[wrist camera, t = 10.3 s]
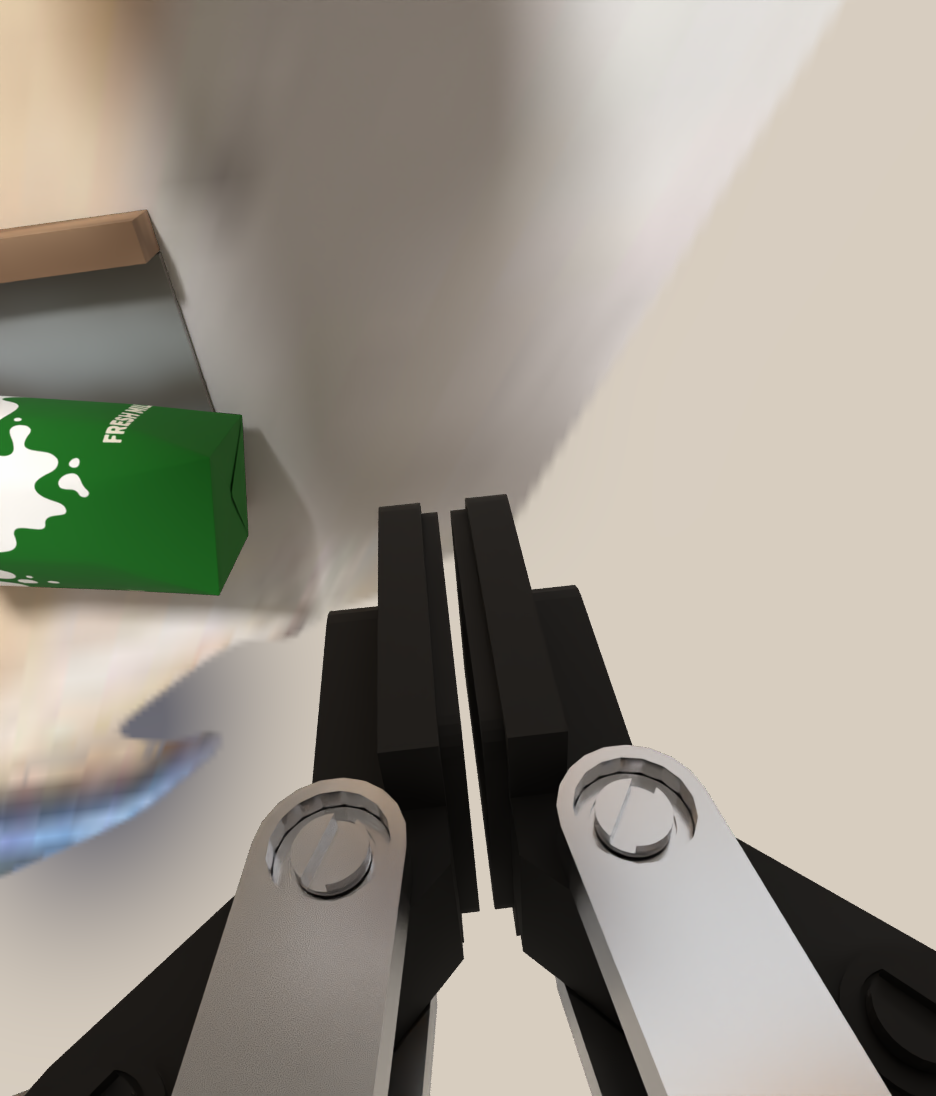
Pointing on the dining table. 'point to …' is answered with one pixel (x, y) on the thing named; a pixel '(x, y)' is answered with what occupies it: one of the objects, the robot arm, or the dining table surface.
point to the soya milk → (119, 496)
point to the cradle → (94, 316)
